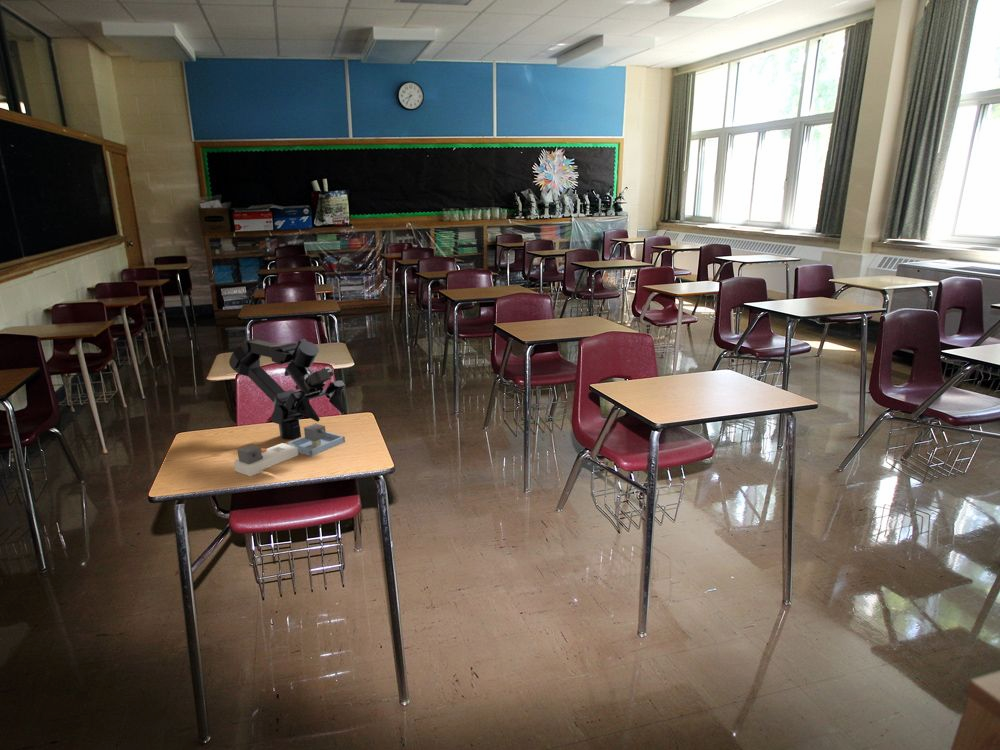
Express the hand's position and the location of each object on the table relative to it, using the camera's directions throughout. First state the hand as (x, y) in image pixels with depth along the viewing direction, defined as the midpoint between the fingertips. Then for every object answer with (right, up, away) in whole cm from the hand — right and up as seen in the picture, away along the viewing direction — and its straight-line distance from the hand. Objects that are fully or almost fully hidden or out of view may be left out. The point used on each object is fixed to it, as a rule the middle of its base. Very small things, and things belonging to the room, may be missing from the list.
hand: (331, 416), depth 183 cm
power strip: (-16, -13, -5) cm, 22 cm away
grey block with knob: (-7, -9, +7) cm, 13 cm away
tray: (-7, -10, +7) cm, 14 cm away
